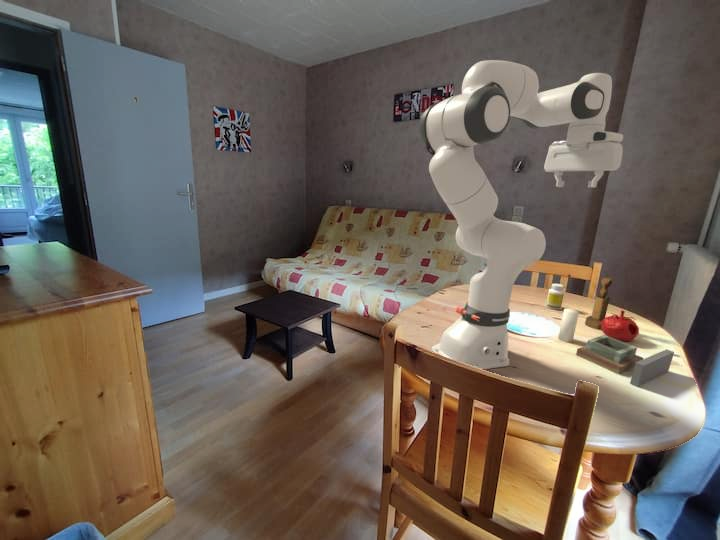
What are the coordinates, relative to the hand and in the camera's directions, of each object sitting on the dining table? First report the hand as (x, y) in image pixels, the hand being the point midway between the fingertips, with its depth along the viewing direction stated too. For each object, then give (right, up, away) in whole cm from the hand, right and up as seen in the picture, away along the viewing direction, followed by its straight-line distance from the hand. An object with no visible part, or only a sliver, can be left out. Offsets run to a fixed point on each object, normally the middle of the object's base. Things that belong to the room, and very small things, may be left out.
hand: (575, 187), depth 96 cm
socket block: (+7, -51, -4) cm, 52 cm away
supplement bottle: (+15, -41, +35) cm, 56 cm away
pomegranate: (+21, -48, +10) cm, 53 cm away
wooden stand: (+20, -45, +18) cm, 53 cm away
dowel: (+2, -48, +7) cm, 48 cm away
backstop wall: (+11, -53, -13) cm, 56 cm away
